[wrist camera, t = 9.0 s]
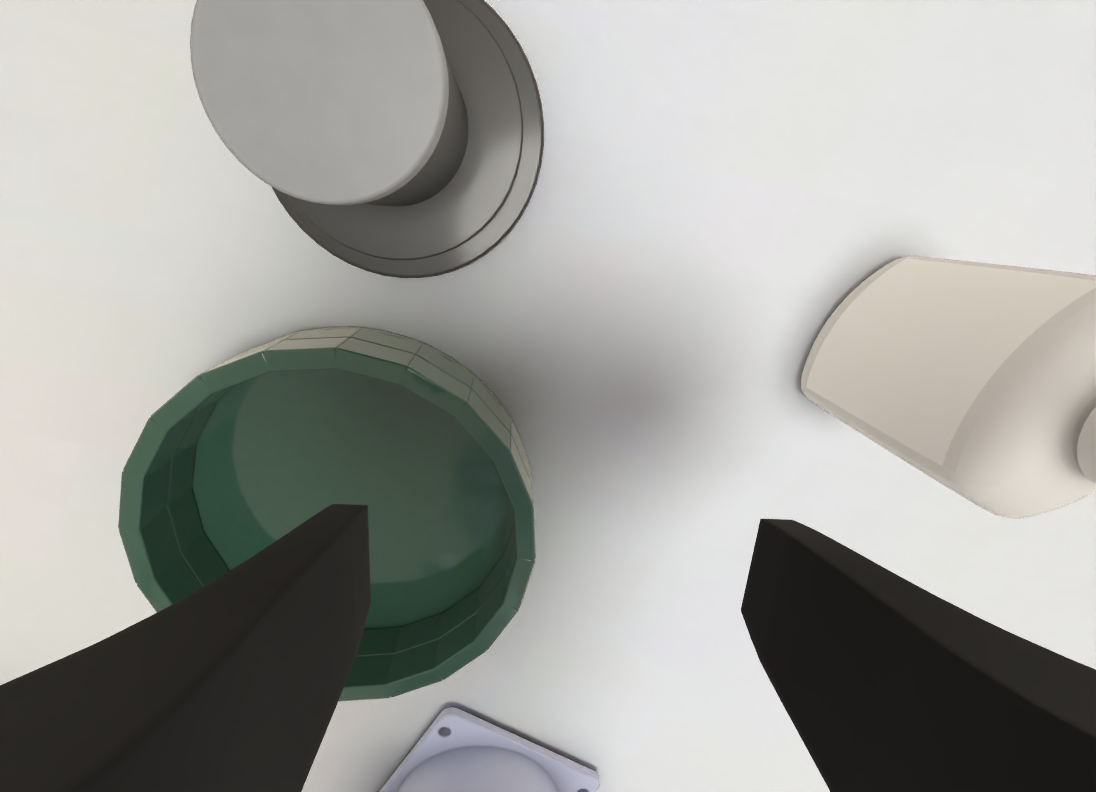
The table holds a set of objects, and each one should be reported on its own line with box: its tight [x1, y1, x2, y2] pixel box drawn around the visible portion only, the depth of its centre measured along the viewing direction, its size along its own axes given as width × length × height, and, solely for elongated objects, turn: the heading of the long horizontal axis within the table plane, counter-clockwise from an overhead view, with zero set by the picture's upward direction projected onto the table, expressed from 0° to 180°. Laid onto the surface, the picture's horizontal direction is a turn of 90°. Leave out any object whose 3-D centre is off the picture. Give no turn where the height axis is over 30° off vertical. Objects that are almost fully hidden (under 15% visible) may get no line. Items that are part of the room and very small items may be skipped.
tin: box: [118, 327, 536, 701], centre depth 18 cm, size 12×12×3 cm
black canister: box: [190, 0, 468, 206], centre depth 12 cm, size 4×4×6 cm
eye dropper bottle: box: [801, 256, 1096, 518], centre depth 13 cm, size 4×6×12 cm
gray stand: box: [272, 0, 544, 278], centre depth 15 cm, size 8×8×2 cm
